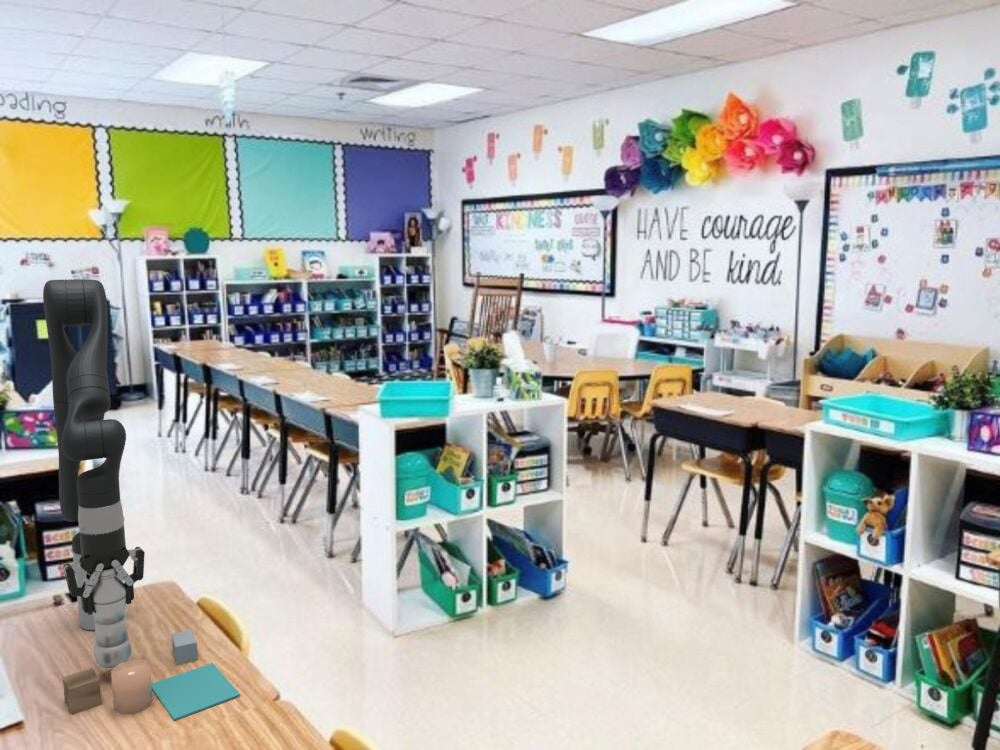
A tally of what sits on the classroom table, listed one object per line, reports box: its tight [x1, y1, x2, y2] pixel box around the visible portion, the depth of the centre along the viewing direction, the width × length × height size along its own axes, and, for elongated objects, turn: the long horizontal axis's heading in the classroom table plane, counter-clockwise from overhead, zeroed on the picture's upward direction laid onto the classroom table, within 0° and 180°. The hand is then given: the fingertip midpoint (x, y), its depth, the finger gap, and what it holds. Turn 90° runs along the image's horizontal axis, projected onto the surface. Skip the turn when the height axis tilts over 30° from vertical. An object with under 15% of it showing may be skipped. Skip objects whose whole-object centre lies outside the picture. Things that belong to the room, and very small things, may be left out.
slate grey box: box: [171, 628, 199, 666], centre depth 163 cm, size 6×4×4 cm, turn 29°
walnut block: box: [62, 667, 103, 716], centre depth 146 cm, size 5×5×5 cm
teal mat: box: [151, 662, 241, 722], centre depth 150 cm, size 14×12×1 cm
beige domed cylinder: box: [110, 658, 154, 715], centre depth 146 cm, size 6×6×7 cm
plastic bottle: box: [90, 568, 133, 669], centre depth 153 cm, size 6×7×20 cm
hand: (108, 607), depth 153 cm, fingers closed on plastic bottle, 6 cm apart
